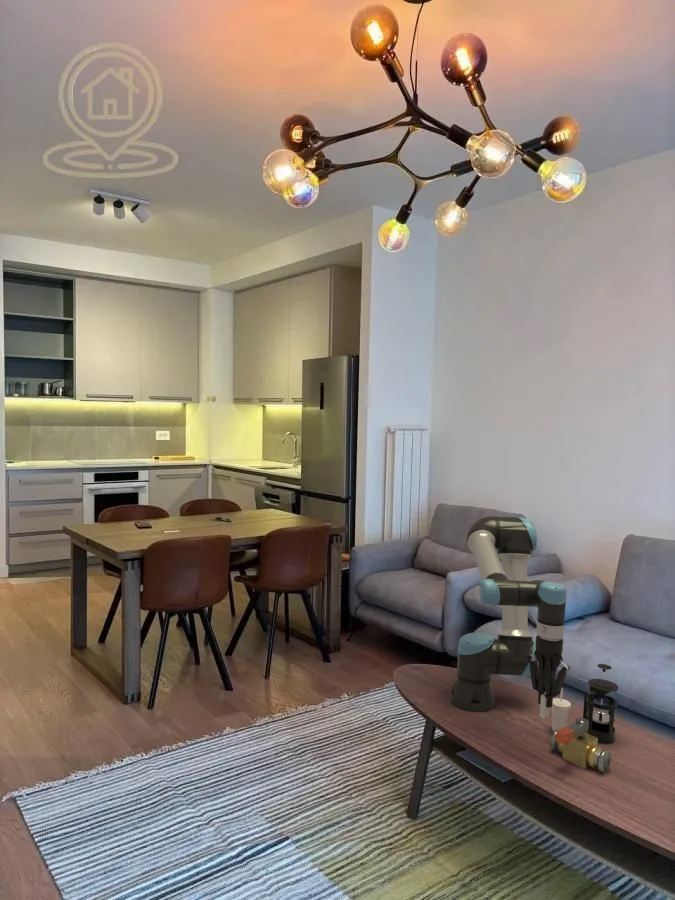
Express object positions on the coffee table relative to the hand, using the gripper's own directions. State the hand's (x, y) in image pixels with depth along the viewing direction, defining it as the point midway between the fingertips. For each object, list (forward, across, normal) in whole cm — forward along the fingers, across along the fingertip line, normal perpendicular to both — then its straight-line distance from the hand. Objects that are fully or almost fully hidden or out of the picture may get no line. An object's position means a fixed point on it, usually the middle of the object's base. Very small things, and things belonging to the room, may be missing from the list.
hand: (544, 716), depth 196 cm
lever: (+4, +7, +4) cm, 9 cm away
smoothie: (+13, -6, +20) cm, 24 cm away
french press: (+13, +3, +28) cm, 31 cm away
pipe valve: (+13, +7, +9) cm, 17 cm away
